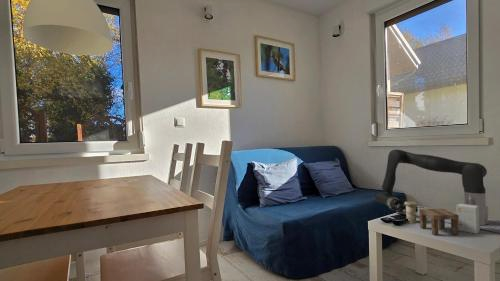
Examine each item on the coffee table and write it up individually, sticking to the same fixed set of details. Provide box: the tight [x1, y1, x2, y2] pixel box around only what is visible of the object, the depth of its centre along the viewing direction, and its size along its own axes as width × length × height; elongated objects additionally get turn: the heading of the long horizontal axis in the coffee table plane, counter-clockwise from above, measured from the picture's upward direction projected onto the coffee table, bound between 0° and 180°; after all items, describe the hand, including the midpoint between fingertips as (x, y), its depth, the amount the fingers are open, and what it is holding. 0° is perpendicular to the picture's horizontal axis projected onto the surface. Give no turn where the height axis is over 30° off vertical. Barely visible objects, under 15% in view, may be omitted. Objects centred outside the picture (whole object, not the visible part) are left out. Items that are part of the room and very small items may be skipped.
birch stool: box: [404, 201, 418, 224], centre depth 154 cm, size 6×6×11 cm
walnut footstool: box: [418, 208, 459, 236], centre depth 138 cm, size 12×12×10 cm
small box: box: [455, 203, 480, 234], centre depth 137 cm, size 8×6×13 cm
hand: (409, 210), depth 155 cm, fingers open, 8 cm apart
